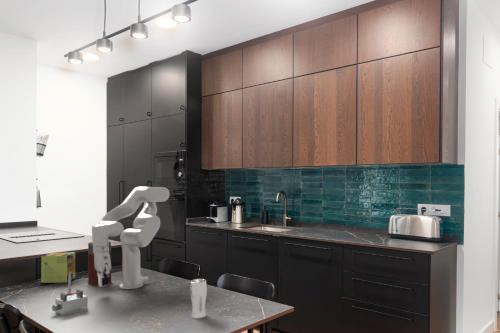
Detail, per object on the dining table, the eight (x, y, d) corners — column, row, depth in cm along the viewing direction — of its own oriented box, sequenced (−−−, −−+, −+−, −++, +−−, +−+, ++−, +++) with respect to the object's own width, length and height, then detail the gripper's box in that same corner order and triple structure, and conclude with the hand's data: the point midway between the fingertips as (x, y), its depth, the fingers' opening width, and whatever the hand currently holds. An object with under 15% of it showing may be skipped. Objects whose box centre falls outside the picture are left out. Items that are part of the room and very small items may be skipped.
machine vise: (80, 305, 181) (80, 287, 181) (87, 309, 175) (87, 290, 175) (49, 313, 171) (49, 293, 172) (56, 317, 166) (56, 297, 166)
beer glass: (191, 313, 168) (190, 278, 168) (207, 313, 168) (206, 278, 169) (190, 319, 161) (189, 283, 161) (206, 318, 161) (206, 282, 162)
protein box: (67, 282, 223) (67, 255, 224) (40, 282, 224) (40, 255, 224) (75, 277, 234) (75, 252, 234) (50, 278, 234) (50, 252, 234)
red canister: (98, 279, 229) (98, 232, 230) (111, 281, 223) (111, 233, 224) (85, 283, 221) (85, 234, 222) (98, 285, 215) (97, 235, 216)
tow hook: (71, 294, 201) (60, 299, 192) (72, 269, 202) (61, 272, 193) (86, 295, 200) (75, 299, 191) (87, 269, 201) (76, 273, 192)
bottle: (105, 283, 199) (104, 269, 199) (109, 284, 196) (108, 270, 196) (97, 285, 196) (96, 271, 196) (100, 287, 193) (99, 272, 193)
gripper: (115, 249, 192) (117, 285, 193) (101, 244, 204) (103, 279, 205) (100, 252, 187) (103, 289, 188) (86, 247, 199) (89, 282, 200)
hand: (103, 283), depth 196 cm, fingers closed on bottle, 4 cm apart
